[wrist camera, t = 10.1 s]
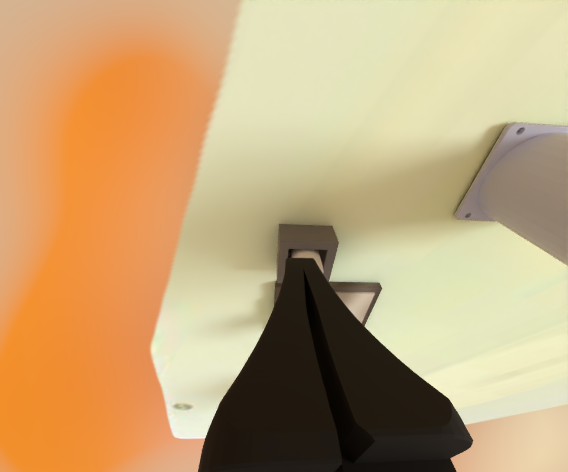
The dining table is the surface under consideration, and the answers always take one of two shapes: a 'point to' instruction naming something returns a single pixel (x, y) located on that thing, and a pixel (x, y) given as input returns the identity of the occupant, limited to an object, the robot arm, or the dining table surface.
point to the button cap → (307, 255)
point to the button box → (306, 245)
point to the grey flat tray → (352, 297)
